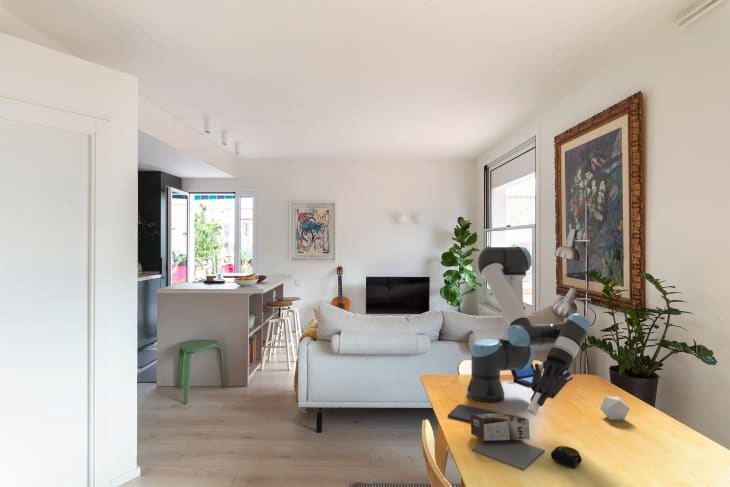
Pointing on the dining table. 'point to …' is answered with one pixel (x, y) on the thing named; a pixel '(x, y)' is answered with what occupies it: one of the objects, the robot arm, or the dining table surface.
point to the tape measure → (566, 456)
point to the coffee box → (499, 427)
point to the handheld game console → (524, 375)
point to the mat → (509, 452)
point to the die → (614, 408)
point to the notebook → (467, 412)
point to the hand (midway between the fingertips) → (531, 412)
